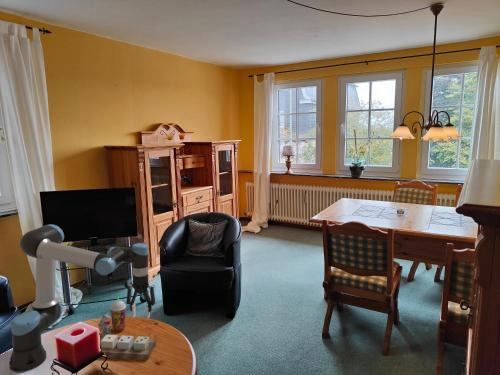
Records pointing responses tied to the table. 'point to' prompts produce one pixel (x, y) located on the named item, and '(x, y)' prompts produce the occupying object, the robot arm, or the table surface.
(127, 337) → the die
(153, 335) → the table surface
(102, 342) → the die
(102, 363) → the table surface
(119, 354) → the board
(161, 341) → the table surface
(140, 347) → the die
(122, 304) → the smoothie
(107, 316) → the figurine
